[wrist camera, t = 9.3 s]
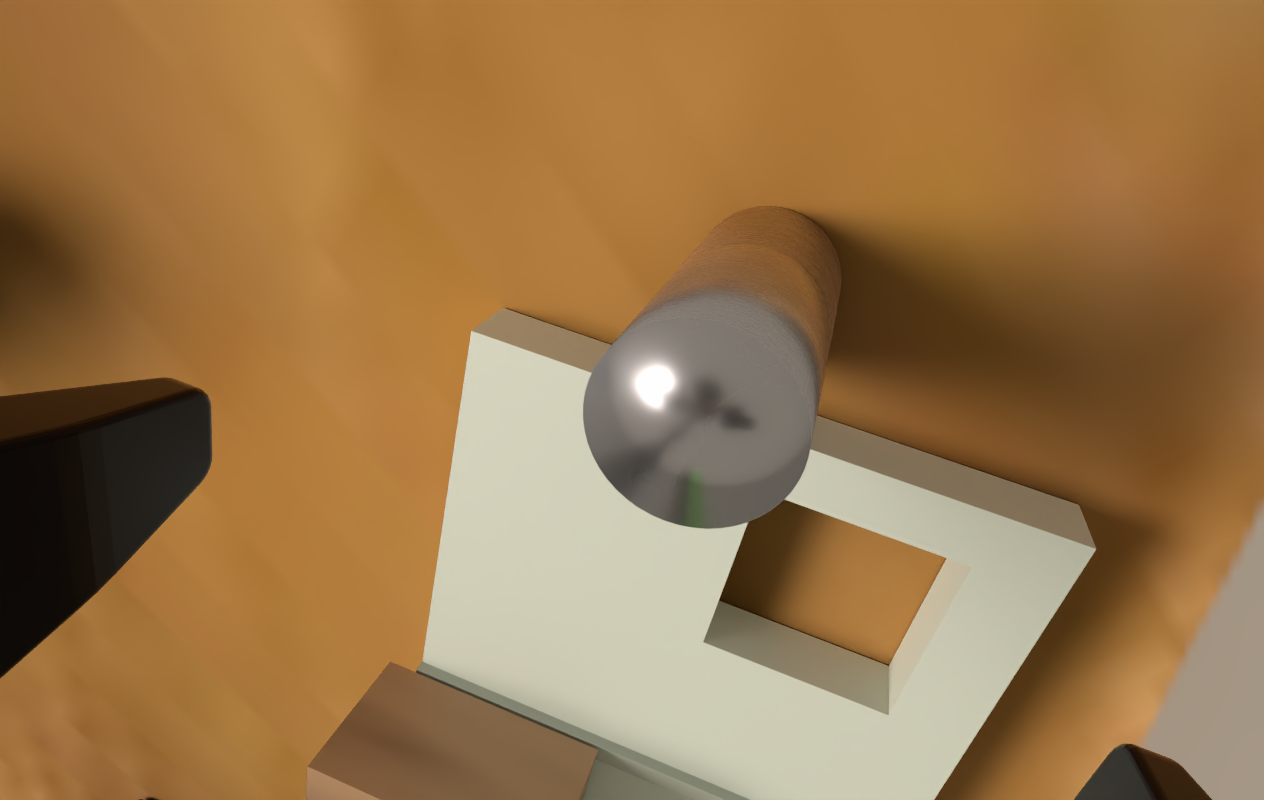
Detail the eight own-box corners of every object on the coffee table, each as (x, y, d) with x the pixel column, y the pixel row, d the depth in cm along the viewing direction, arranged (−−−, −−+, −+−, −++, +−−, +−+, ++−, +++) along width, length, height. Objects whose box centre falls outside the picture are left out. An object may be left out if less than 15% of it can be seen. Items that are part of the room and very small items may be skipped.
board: (818, 929, 24) (812, 996, 22) (428, 758, 26) (396, 808, 24) (1078, 504, 17) (1100, 558, 15) (503, 307, 18) (464, 335, 17)
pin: (812, 367, 17) (768, 559, 11) (678, 323, 17) (564, 483, 11) (864, 232, 16) (846, 365, 9) (717, 187, 16) (609, 286, 10)
